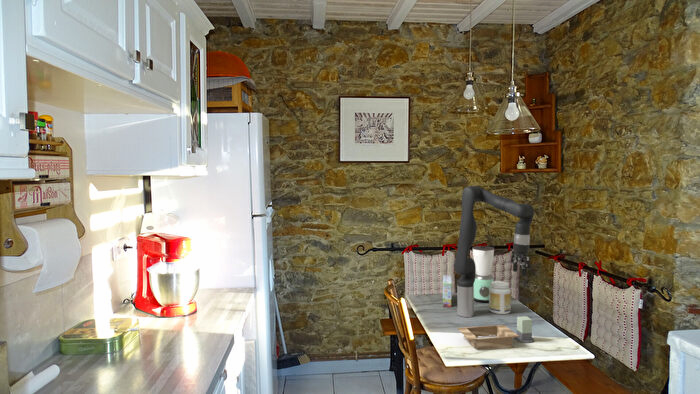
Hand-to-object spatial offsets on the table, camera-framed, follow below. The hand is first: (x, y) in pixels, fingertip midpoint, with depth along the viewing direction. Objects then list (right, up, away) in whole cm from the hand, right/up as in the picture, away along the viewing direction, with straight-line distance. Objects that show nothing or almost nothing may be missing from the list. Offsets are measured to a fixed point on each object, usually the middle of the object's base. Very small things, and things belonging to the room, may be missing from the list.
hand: (519, 273), depth 223 cm
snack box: (-25, -28, +54) cm, 66 cm away
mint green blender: (-1, -27, +57) cm, 63 cm away
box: (-1, -30, -8) cm, 31 cm away
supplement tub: (+2, -29, +34) cm, 45 cm away
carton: (-20, -31, -10) cm, 39 cm away
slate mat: (-1, -31, -8) cm, 32 cm away
